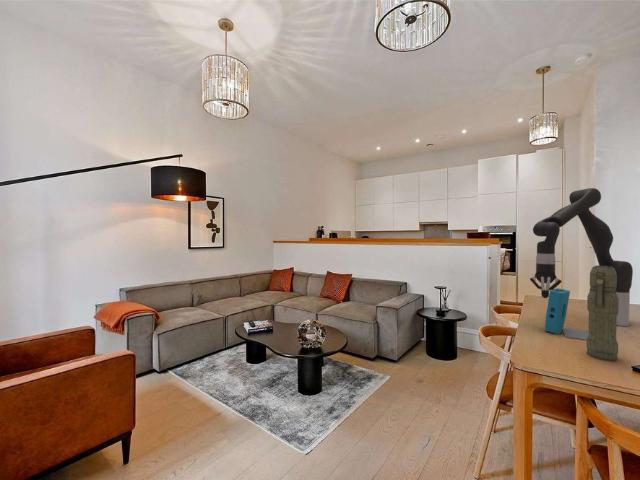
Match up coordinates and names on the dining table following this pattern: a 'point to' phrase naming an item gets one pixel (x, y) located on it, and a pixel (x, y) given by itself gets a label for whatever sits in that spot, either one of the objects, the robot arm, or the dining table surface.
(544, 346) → the dining table surface
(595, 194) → the robot arm
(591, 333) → the olive green pouch
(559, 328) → the block
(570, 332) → the mat
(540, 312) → the dining table surface
